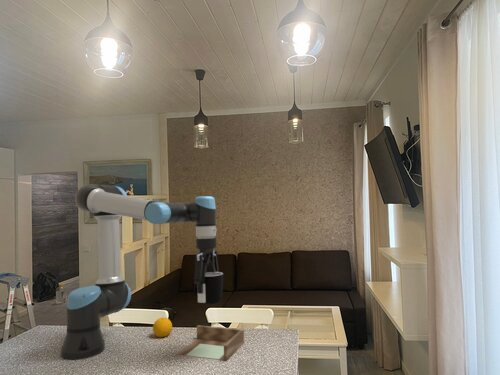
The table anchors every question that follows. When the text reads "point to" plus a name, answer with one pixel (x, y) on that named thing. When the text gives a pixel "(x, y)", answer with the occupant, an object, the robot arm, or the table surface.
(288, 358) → the table surface
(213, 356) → the pad
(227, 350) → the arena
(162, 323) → the yellow orange fruit
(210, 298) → the mug
